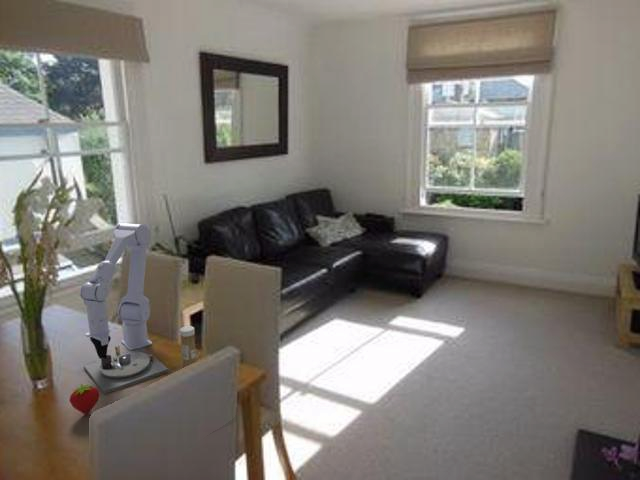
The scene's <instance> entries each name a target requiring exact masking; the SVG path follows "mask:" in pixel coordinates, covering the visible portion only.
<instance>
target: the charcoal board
mask: <svg viewBox="0 0 640 480" xmlns="http://www.w3.org/2000/svg"><path fill="white" fill-rule="evenodd" d="M131 351H136V352H143V353H145V354H147V355H150V354H152V353H151V352H150V351H149V350H148V349H147V348H145V346H144V347H141V348H138V349H134V350H129V352H131ZM100 365H101V360H98V361H94V362H92V363H89V364H86V365H85V364H84V365H83V370H84V371H85V372H86V373H87V374H88V375H89V376H90V378H91V379H92V380H93V382H94V383H95V384H96V385H97V387H98V389H100V391H102V393H103V394H104V395H106V394H109V393H112V392H115V391H118V390H121V389H123V387H124V388H127V387H129V386H132V385H134V384H138V383H141V382H143V380H144V381H146V380H149V379H152V378H155V377H157V376H158V377H159V376H160V375H163V374H165V373H168V372H169V368H168V367H167V366H166V365H165V364H163V362H161V361H160V360H159V359H157V357H156V356H155V355H153V360H150V365H149V367H148V368H147V369H146V370H145V371H143V372H141V373H140V374H137V375H135V376H131V377H127V378H120V379H113V378H107V377H105V376H103V375H102V374H101V371H100ZM126 386H127V387H126ZM120 388H121V389H120Z"/></svg>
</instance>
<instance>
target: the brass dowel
mask: <svg viewBox="0 0 640 480" xmlns="http://www.w3.org/2000/svg"><path fill="white" fill-rule="evenodd" d="M114 352H115V354H119V353H121V350H120V345H115V346H114Z"/></svg>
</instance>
